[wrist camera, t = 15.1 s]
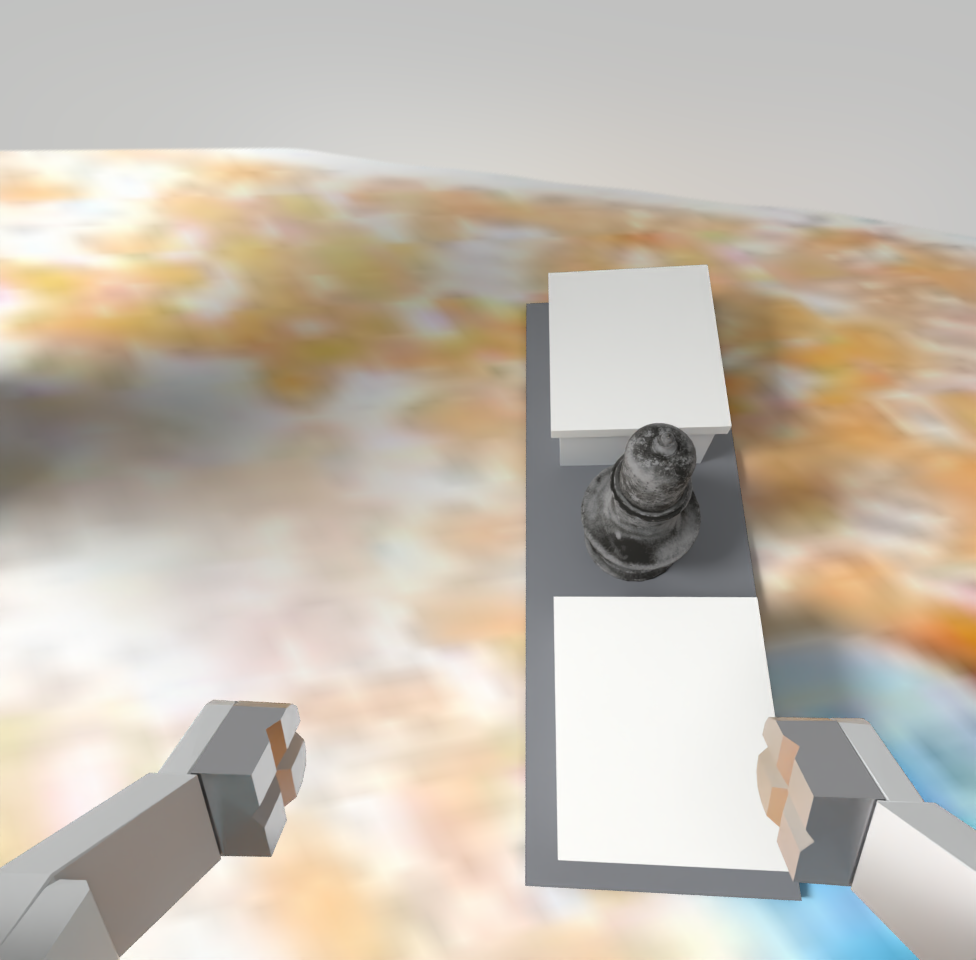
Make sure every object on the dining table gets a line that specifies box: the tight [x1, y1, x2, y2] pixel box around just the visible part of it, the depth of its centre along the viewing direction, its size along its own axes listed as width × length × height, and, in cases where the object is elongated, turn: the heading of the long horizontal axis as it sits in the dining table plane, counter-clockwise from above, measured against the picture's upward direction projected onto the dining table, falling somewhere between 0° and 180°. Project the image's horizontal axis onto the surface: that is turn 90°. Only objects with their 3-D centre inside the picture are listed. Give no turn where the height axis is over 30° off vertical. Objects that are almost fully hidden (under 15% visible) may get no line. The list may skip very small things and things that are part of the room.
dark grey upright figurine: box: [581, 423, 701, 582], centre depth 28 cm, size 6×6×12 cm
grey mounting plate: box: [525, 265, 802, 901], centre depth 31 cm, size 12×33×5 cm, turn 179°
